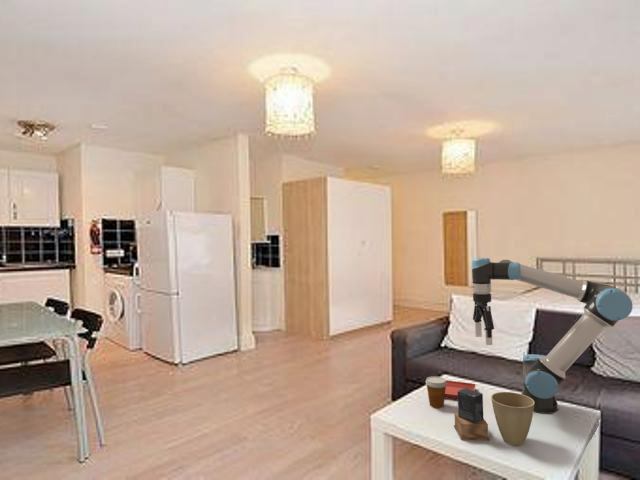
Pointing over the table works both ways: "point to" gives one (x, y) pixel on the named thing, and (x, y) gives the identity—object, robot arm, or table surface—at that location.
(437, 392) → the disposable coffee cup
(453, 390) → the plant saucer
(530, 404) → the plant pot
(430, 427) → the table surface
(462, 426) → the pedestal
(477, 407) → the box
